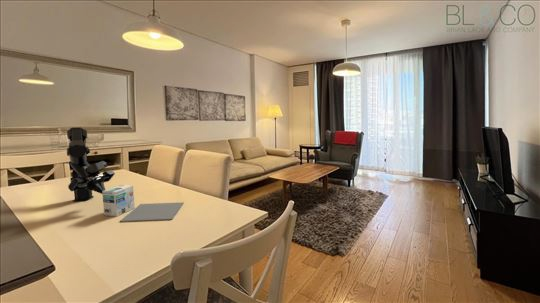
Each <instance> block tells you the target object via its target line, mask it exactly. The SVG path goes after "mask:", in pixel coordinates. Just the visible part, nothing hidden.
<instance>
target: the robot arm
mask: <svg viewBox="0 0 540 303" xmlns="http://www.w3.org/2000/svg"><path fill="white" fill-rule="evenodd" d="M66 135H67V140H69V143H68V147H66V154H67V157H69V165H70V166H71V168H72V169H73V170H72V172H71V177H70V183H69V184H68V185H67V187H68V189H69V191H70V192H73V193H74V194H73V196H74V199H73V200H72V202H86V201H89V200H91V199H92V198H94V197H95V196H94V195H93V191H94V192H96V193H98V194H101V195H103V194H102V191H104V190H106V187H105V184H104V183H107V182H110V181H111V179H113V177H114V175H116V173H115V172H114V170H112V169H109V170H106V168H107V167H108V164H107V162H106V161H104V160H101V161H99V162H95V163H93V164H90V163H89V162H88V161H87V156H88V155H89V154H90V153H91V149H90V148H89V147H88V146H87V145H86V144H87V139H88V130H86V129H84V128H83V127H81V126H80V127H70V129H68V130H66ZM103 170H105V171H103ZM101 171H103V172H101ZM101 173H102V174H101Z"/></svg>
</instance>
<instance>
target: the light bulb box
mask: <svg viewBox="0 0 540 303" xmlns="http://www.w3.org/2000/svg"><path fill="white" fill-rule="evenodd" d="M134 192H135V190H134V185H126V184H120V185H118V186H115V187H111V188H108V189H105V190H104V191H102V194H101V195H102V202H103V203H102V204H103V213H104V216H107V217H110V216H111V217H119V216H121V215H123V214H125V213H129V212H131V211H133V210H134V209H135V208H136V207H135V194H134Z"/></svg>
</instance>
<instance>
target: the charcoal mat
mask: <svg viewBox="0 0 540 303" xmlns="http://www.w3.org/2000/svg"><path fill="white" fill-rule="evenodd" d="M184 204H185V202H182V201H181V202H163V203H162V202H157V203H156V202H155V203H139V205H137V206H136V207H135V208H134V209H132V210H130V211H129V212H128V214H126V215H125V216H124V217H123V218H121V219H120V220H119V222H120V223H124V222H125V223H127V222H128V223H131V222H152V221H153V222H154V221H156V222H158V221H173V219H174V218H175V216H176V215H177V214H178V212H180V210H181V208H182V207H183V205H184Z"/></svg>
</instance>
